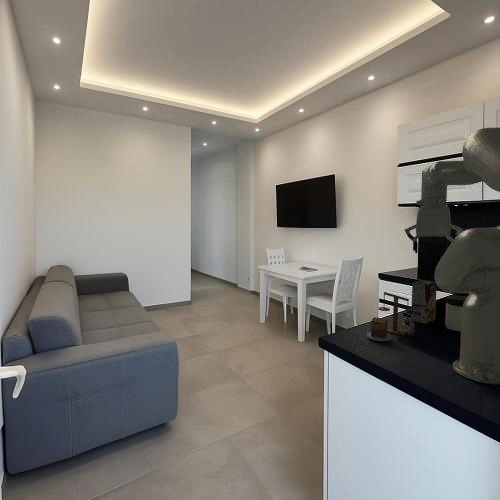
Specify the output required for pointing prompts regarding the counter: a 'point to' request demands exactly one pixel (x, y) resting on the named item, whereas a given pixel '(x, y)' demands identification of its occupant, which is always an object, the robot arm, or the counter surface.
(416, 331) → the counter surface
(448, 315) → the jar
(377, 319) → the block
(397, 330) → the balance
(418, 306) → the coffee box
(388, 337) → the dish
